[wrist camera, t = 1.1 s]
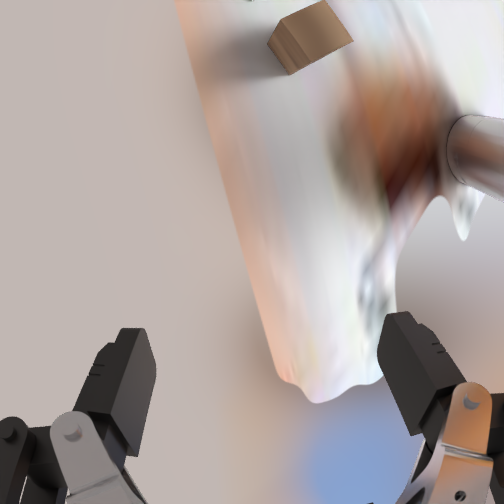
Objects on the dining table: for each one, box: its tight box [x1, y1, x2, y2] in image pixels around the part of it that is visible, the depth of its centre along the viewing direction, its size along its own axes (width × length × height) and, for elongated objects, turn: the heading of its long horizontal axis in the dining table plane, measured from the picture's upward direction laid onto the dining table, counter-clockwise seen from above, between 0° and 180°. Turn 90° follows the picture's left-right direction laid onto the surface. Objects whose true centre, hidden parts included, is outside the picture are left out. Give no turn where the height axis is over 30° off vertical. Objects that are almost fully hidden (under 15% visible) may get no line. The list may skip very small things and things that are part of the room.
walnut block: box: [268, 0, 353, 75], centre depth 22 cm, size 4×4×9 cm
